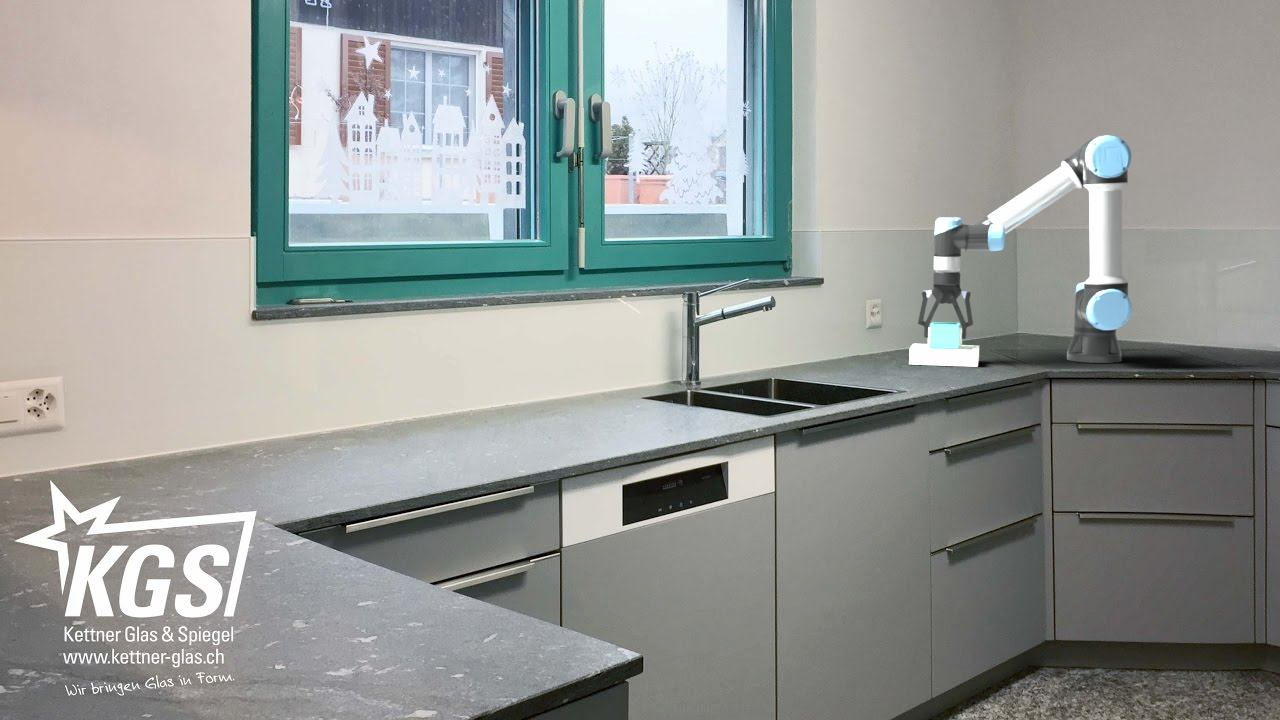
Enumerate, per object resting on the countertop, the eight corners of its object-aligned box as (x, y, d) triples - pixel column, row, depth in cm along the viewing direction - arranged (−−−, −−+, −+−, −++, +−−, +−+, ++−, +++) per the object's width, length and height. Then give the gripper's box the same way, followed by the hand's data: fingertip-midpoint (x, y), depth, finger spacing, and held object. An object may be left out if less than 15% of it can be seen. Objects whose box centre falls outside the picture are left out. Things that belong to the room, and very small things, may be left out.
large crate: (978, 360, 356) (979, 345, 355) (977, 366, 343) (977, 350, 342) (912, 358, 361) (913, 343, 361) (909, 364, 348) (909, 348, 348)
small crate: (959, 349, 354) (960, 322, 353) (958, 352, 347) (959, 324, 346) (931, 348, 357) (932, 321, 356) (929, 351, 349) (930, 324, 348)
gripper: (984, 271, 349) (982, 349, 352) (911, 270, 355) (909, 347, 358) (984, 272, 342) (981, 352, 345) (909, 271, 348) (907, 349, 351)
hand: (944, 349), depth 352 cm, fingers closed on small crate, 8 cm apart
